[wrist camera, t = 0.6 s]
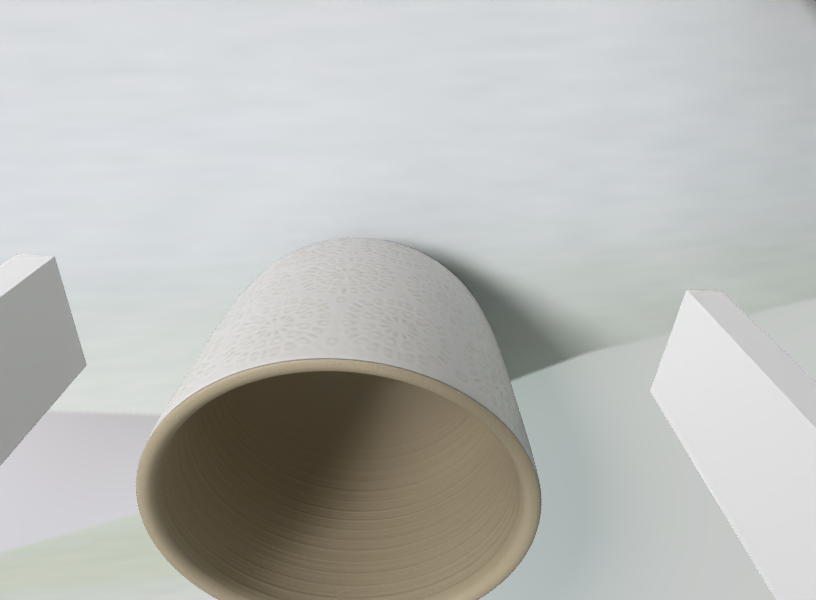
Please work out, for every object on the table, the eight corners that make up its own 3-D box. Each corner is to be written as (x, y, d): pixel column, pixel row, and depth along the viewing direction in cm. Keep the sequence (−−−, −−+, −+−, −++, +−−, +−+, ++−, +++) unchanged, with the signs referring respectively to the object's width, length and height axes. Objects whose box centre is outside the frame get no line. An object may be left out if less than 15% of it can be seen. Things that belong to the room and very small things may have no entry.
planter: (458, 435, 51) (482, 650, 34) (233, 401, 49) (143, 613, 32) (524, 232, 40) (604, 399, 24) (243, 180, 38) (120, 322, 22)
